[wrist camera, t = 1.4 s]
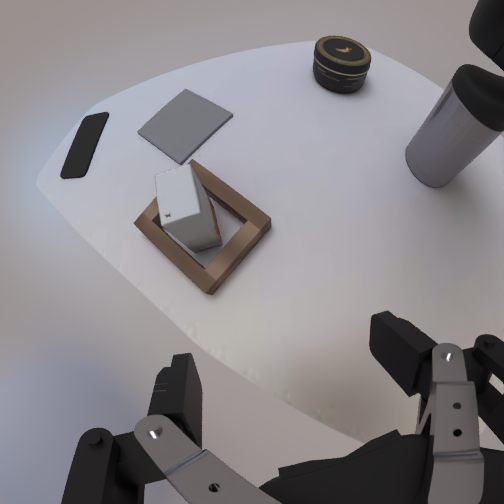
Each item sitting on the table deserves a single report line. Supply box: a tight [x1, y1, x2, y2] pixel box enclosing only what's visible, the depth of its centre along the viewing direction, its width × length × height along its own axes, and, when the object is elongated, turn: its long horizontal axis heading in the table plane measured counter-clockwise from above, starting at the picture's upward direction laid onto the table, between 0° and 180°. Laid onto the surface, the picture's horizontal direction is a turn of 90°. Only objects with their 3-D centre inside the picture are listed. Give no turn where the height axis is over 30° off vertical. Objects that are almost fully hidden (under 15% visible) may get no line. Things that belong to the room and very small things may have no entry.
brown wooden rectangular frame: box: [134, 159, 271, 295], centre depth 36 cm, size 12×14×4 cm
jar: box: [313, 36, 371, 93], centre depth 39 cm, size 10×10×8 cm
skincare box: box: [155, 164, 222, 252], centre depth 32 cm, size 6×4×12 cm
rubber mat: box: [137, 89, 233, 165], centre depth 42 cm, size 12×12×1 cm
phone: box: [60, 112, 109, 179], centre depth 44 cm, size 7×1×15 cm
